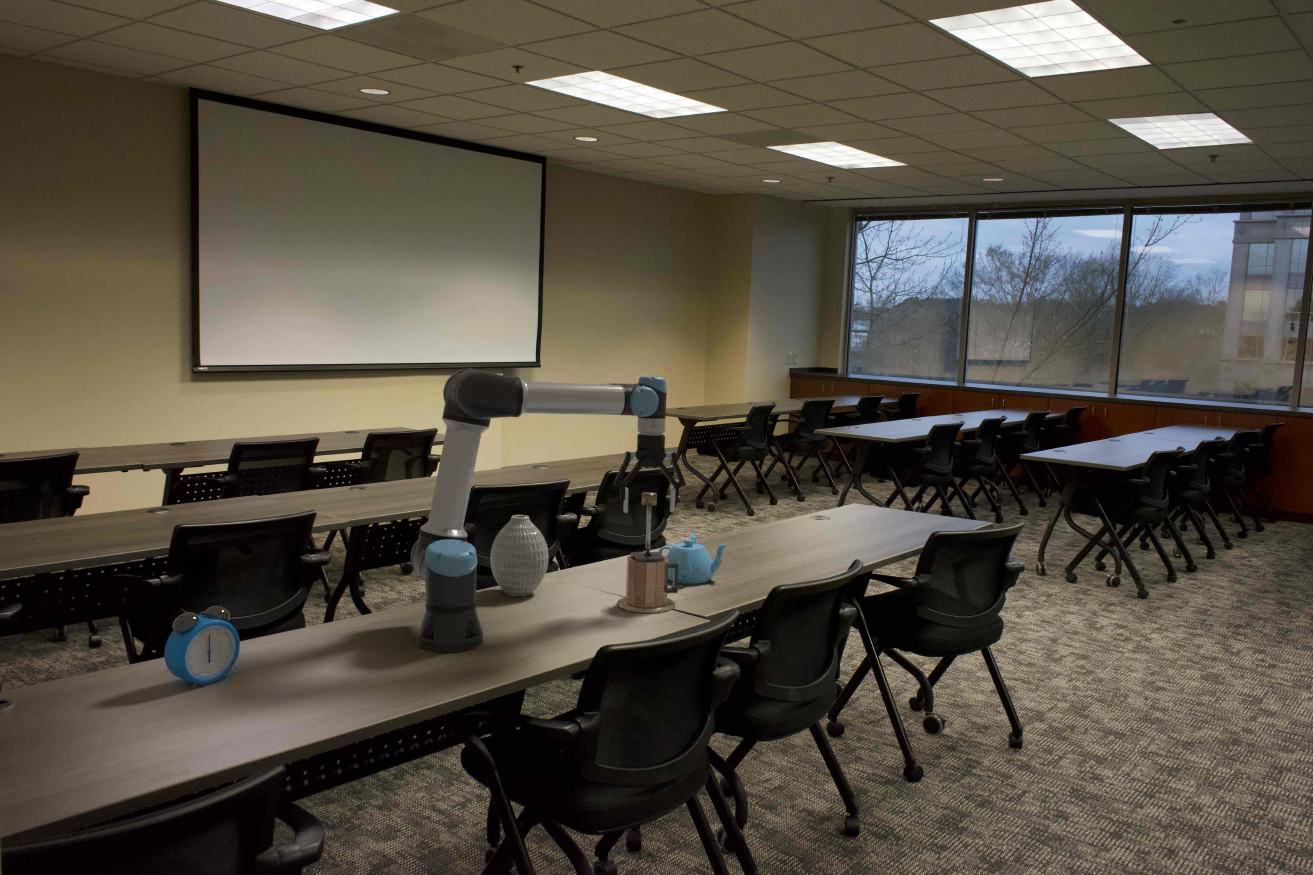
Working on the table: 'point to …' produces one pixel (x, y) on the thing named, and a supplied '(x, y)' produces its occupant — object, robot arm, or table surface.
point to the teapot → (692, 561)
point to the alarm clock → (202, 646)
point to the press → (648, 584)
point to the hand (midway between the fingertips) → (649, 512)
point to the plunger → (648, 517)
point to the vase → (519, 557)
